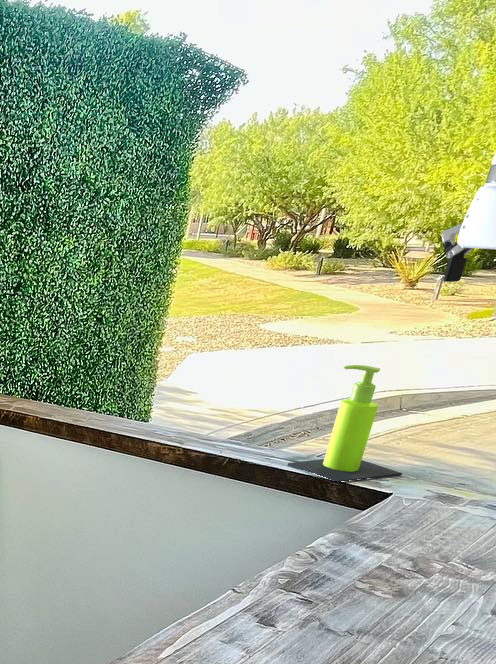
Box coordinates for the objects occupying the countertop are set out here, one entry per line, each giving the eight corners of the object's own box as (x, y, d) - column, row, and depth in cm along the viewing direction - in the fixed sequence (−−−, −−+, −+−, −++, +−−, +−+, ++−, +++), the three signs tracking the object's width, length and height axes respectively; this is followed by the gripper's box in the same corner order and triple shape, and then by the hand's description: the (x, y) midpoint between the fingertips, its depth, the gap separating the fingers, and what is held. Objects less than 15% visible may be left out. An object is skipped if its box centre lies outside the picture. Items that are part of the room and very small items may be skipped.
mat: (348, 458, 159) (349, 455, 158) (401, 475, 149) (402, 473, 149) (287, 465, 155) (288, 462, 155) (337, 483, 145) (338, 480, 145)
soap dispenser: (322, 458, 157) (350, 361, 149) (362, 467, 152) (393, 367, 144) (312, 464, 153) (340, 365, 146) (352, 473, 148) (384, 371, 141)
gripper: (596, 175, 119) (554, 288, 126) (476, 178, 135) (444, 278, 141) (562, 175, 117) (521, 290, 124) (445, 178, 133) (413, 280, 139)
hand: (480, 284), depth 133 cm, fingers open, 9 cm apart
